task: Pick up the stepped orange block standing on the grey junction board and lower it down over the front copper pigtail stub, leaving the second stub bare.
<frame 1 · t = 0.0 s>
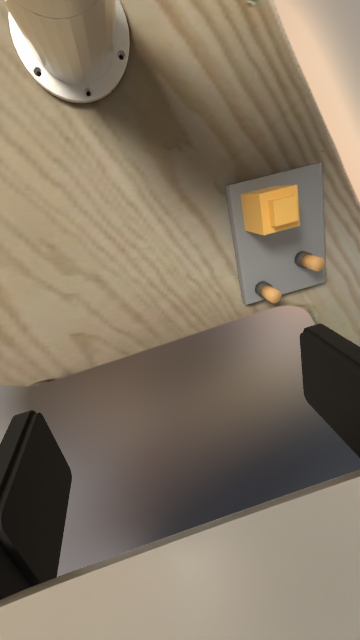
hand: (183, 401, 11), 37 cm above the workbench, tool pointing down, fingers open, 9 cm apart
stepped orange block: (259, 208, 44), point 1 cm above the workbench, touching junction board
junction board: (276, 237, 48), on the workbench
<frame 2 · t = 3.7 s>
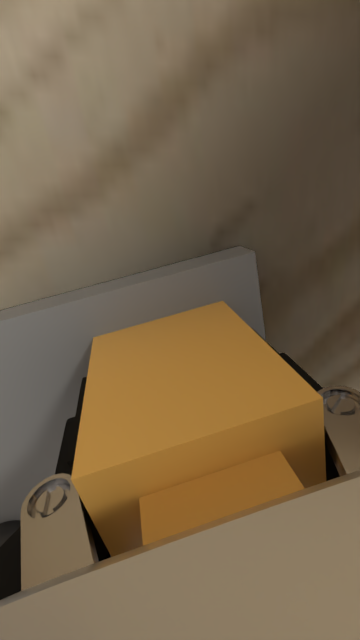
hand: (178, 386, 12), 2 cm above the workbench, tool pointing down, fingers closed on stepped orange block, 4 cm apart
stepped orange block: (174, 373, 12), point 2 cm above the workbench, touching gripper, junction board
junction board: (81, 439, 15), on the workbench
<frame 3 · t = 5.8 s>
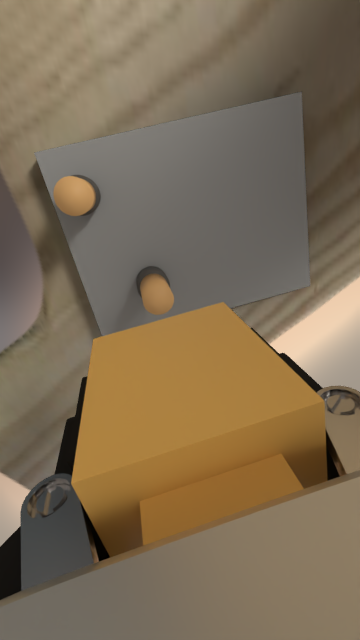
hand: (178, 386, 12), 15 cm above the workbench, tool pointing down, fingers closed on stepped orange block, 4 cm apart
stepped orange block: (174, 375, 12), point 14 cm above the workbench, touching gripper
junction board: (189, 227, 24), on the workbench
when the fingers open (3 cm above the workbench, at t = 8.1 s): stepped orange block stays where it is, resting on junction board.
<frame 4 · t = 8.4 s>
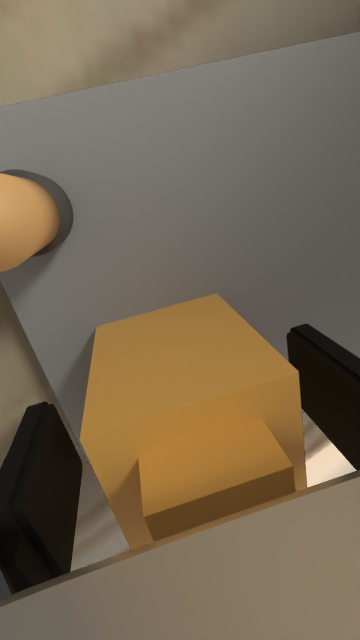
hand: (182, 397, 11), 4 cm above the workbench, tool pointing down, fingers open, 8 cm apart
stepped orange block: (171, 361, 13), point 1 cm above the workbench, touching junction board
junction board: (234, 264, 14), on the workbench
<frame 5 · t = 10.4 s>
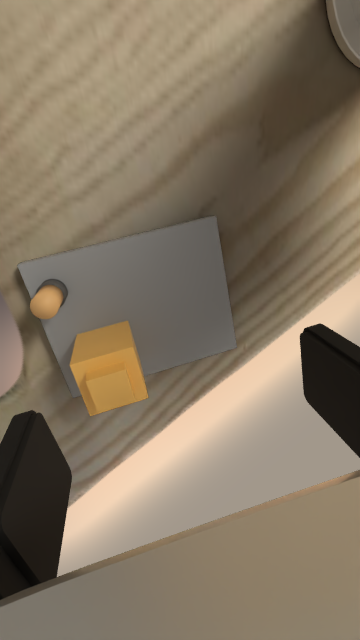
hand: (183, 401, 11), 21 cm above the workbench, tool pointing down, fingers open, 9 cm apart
stepped orange block: (110, 349, 31), point 1 cm above the workbench, touching junction board
junction board: (139, 307, 31), on the workbench
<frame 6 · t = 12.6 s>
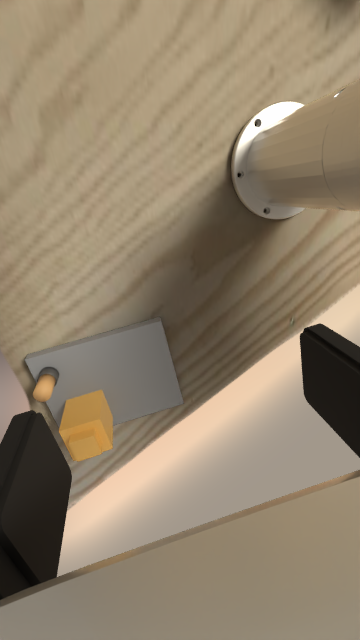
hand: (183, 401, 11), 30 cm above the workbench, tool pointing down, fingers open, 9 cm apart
stepped orange block: (90, 408, 44), point 1 cm above the workbench, touching junction board
junction board: (111, 377, 44), on the workbench
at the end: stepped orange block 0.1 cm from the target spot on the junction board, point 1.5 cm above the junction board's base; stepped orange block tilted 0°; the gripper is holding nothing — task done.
